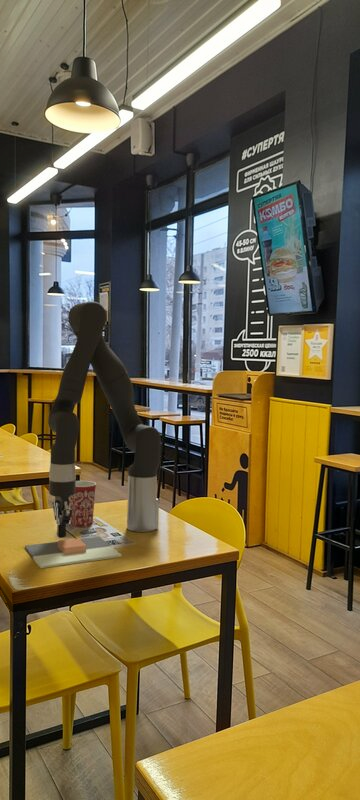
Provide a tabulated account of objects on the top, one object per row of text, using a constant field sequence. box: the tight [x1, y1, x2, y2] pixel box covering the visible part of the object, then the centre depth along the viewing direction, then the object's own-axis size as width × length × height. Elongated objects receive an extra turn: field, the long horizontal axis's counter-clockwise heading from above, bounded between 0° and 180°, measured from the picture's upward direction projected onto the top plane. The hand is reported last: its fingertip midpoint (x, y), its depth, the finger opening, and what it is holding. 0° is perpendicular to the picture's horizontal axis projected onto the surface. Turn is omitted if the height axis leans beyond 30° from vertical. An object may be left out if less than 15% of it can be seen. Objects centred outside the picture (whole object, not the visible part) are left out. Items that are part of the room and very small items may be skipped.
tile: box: [57, 537, 86, 555], centre depth 155 cm, size 6×2×7 cm
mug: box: [69, 480, 97, 528], centre depth 185 cm, size 13×9×14 cm
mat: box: [24, 536, 122, 569], centre depth 155 cm, size 22×18×1 cm
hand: (61, 536), depth 164 cm, fingers closed
